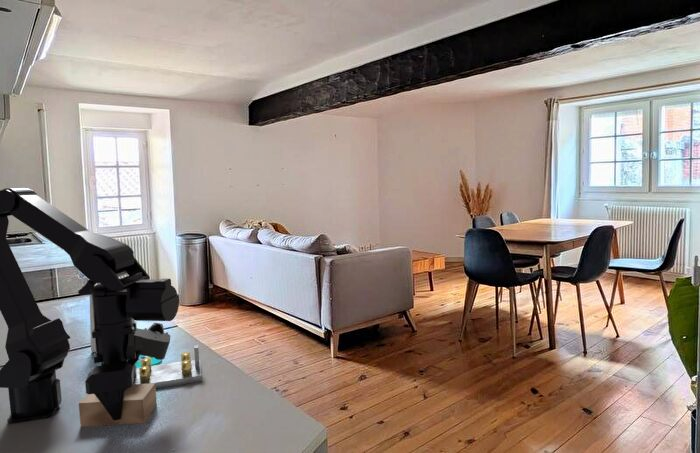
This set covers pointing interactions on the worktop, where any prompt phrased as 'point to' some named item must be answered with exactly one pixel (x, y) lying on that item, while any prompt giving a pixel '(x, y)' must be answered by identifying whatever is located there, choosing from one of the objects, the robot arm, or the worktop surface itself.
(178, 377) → the chassis
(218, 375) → the worktop surface
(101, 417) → the tan block
